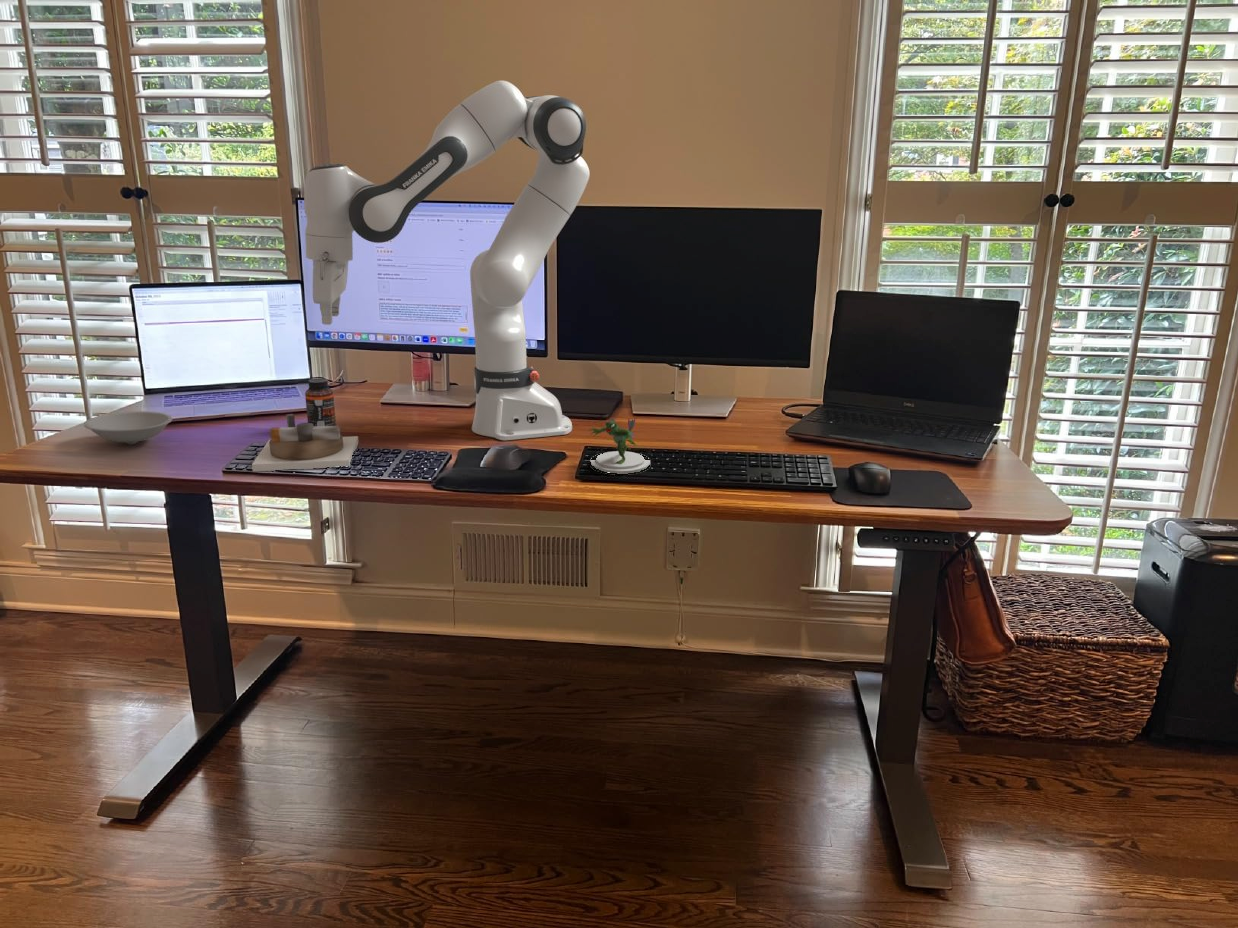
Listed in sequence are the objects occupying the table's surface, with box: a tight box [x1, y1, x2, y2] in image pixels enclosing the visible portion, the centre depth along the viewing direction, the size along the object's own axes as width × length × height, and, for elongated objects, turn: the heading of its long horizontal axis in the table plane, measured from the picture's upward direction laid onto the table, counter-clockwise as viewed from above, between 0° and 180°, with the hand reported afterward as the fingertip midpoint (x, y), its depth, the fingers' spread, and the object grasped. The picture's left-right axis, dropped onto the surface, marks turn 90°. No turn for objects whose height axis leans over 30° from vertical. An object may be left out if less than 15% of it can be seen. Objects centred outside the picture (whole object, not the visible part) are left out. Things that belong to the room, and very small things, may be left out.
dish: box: [83, 410, 173, 445], centre depth 186 cm, size 18×14×5 cm
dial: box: [269, 422, 344, 460], centre depth 178 cm, size 14×14×5 cm
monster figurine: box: [588, 418, 651, 475], centre depth 174 cm, size 12×12×10 cm
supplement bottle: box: [304, 377, 337, 426], centre depth 195 cm, size 6×6×11 cm
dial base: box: [251, 413, 359, 473], centre depth 178 cm, size 18×16×7 cm
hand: (330, 319), depth 178 cm, fingers open, 8 cm apart
